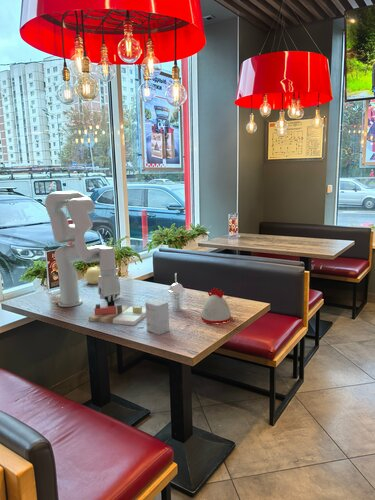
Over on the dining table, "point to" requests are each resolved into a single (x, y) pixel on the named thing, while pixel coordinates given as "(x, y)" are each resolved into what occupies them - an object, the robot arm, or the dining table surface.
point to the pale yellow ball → (93, 275)
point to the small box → (157, 316)
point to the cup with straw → (176, 295)
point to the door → (130, 316)
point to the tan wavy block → (108, 315)
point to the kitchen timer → (215, 308)
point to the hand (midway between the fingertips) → (111, 308)
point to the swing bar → (104, 309)
